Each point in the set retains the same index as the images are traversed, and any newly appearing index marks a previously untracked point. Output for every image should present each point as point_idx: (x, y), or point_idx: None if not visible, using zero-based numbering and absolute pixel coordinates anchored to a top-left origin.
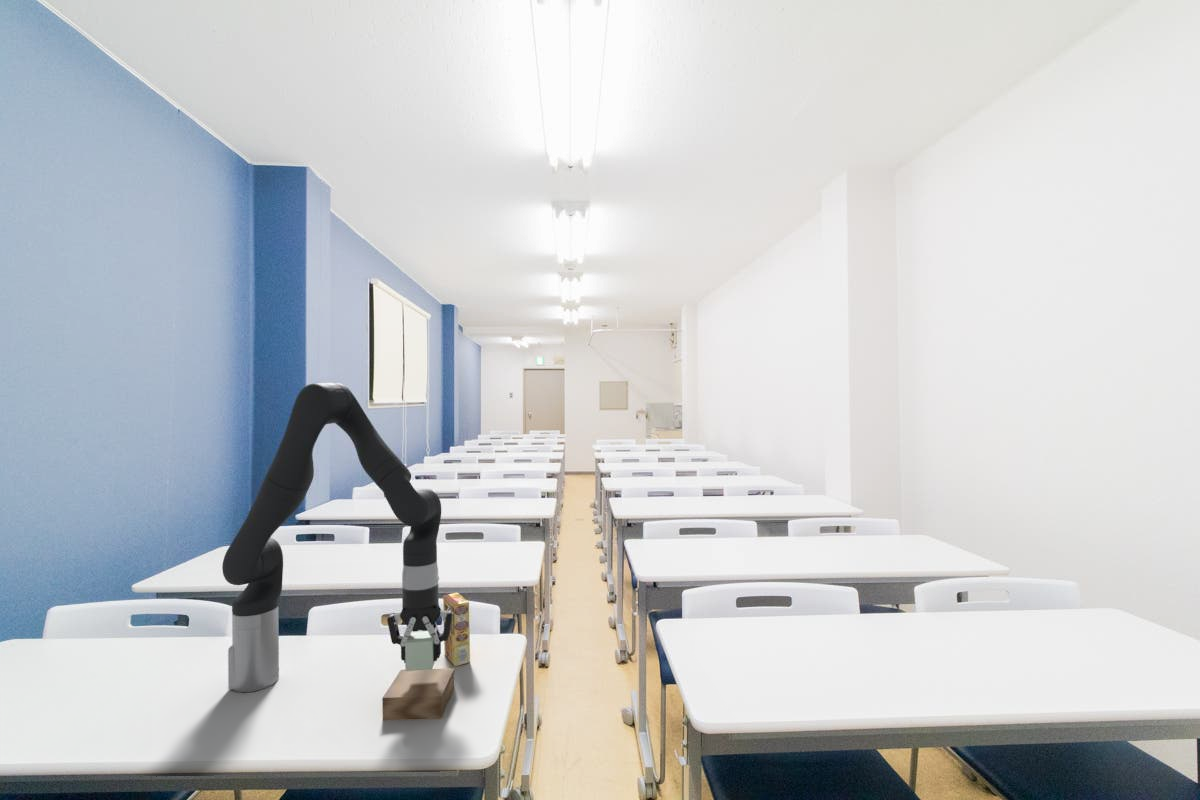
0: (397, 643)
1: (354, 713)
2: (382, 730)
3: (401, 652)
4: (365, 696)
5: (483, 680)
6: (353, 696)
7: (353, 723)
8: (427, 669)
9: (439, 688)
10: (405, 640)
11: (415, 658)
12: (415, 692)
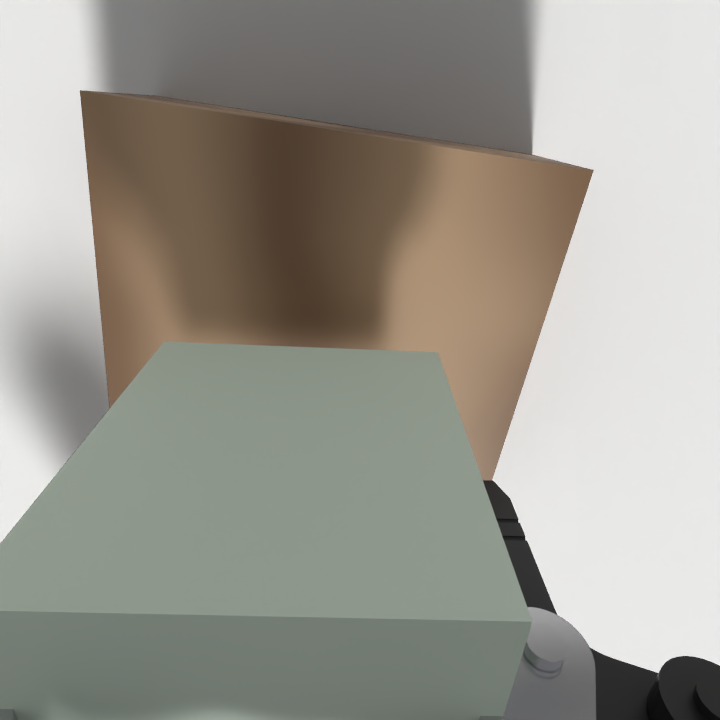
0: (632, 670)
1: (693, 270)
2: (527, 19)
3: (525, 549)
4: (629, 427)
5: (28, 473)
6: (688, 436)
7: (705, 154)
8: (213, 345)
9: (141, 240)
10: (523, 705)
11: (329, 416)
12: (328, 208)
